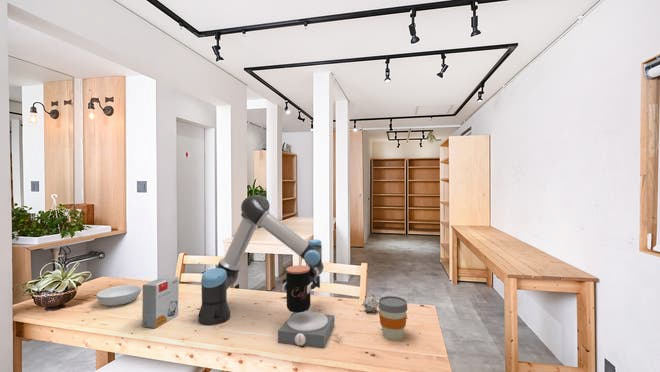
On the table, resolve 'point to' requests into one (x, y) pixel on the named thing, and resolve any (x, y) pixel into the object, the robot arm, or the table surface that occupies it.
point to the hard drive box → (160, 301)
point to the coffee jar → (298, 288)
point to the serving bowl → (118, 294)
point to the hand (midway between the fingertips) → (295, 289)
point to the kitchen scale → (306, 329)
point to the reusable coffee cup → (392, 316)
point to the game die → (370, 303)
